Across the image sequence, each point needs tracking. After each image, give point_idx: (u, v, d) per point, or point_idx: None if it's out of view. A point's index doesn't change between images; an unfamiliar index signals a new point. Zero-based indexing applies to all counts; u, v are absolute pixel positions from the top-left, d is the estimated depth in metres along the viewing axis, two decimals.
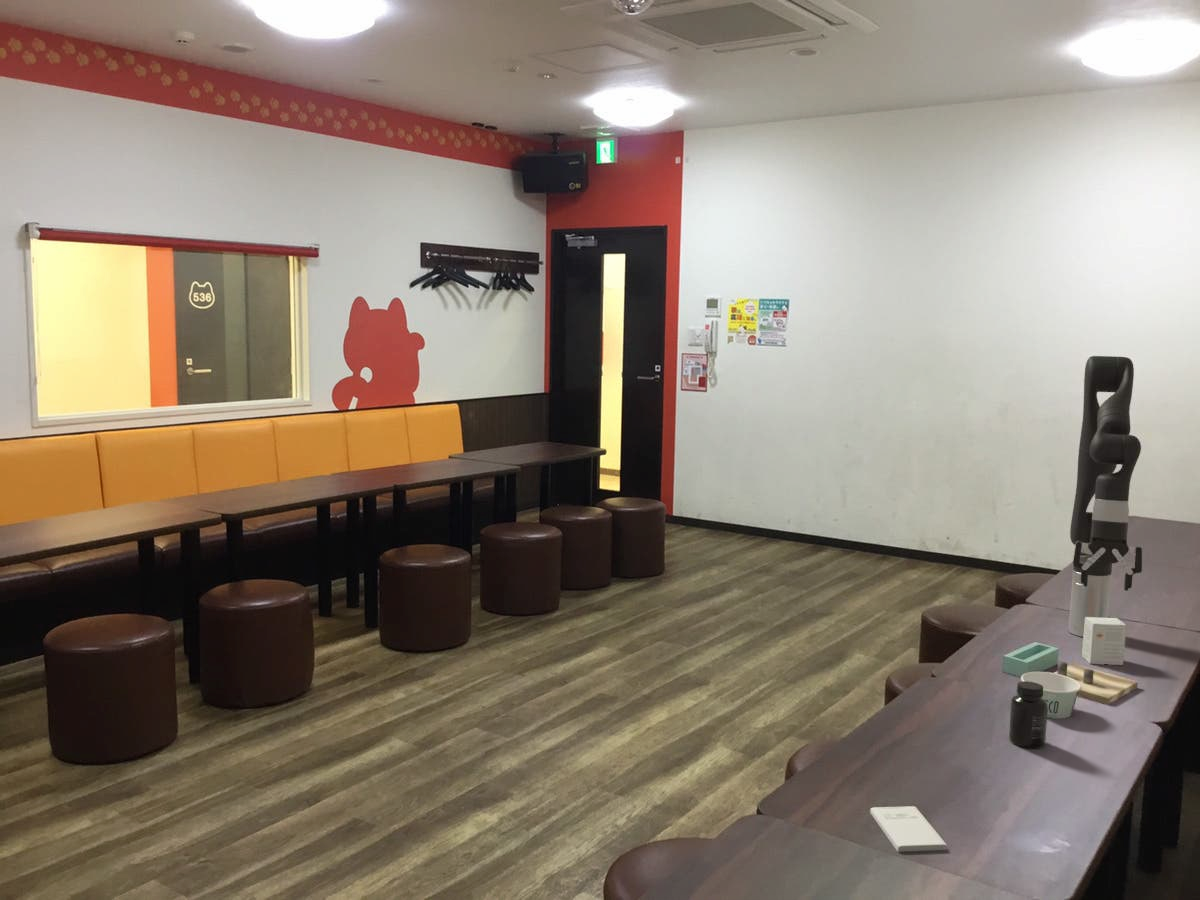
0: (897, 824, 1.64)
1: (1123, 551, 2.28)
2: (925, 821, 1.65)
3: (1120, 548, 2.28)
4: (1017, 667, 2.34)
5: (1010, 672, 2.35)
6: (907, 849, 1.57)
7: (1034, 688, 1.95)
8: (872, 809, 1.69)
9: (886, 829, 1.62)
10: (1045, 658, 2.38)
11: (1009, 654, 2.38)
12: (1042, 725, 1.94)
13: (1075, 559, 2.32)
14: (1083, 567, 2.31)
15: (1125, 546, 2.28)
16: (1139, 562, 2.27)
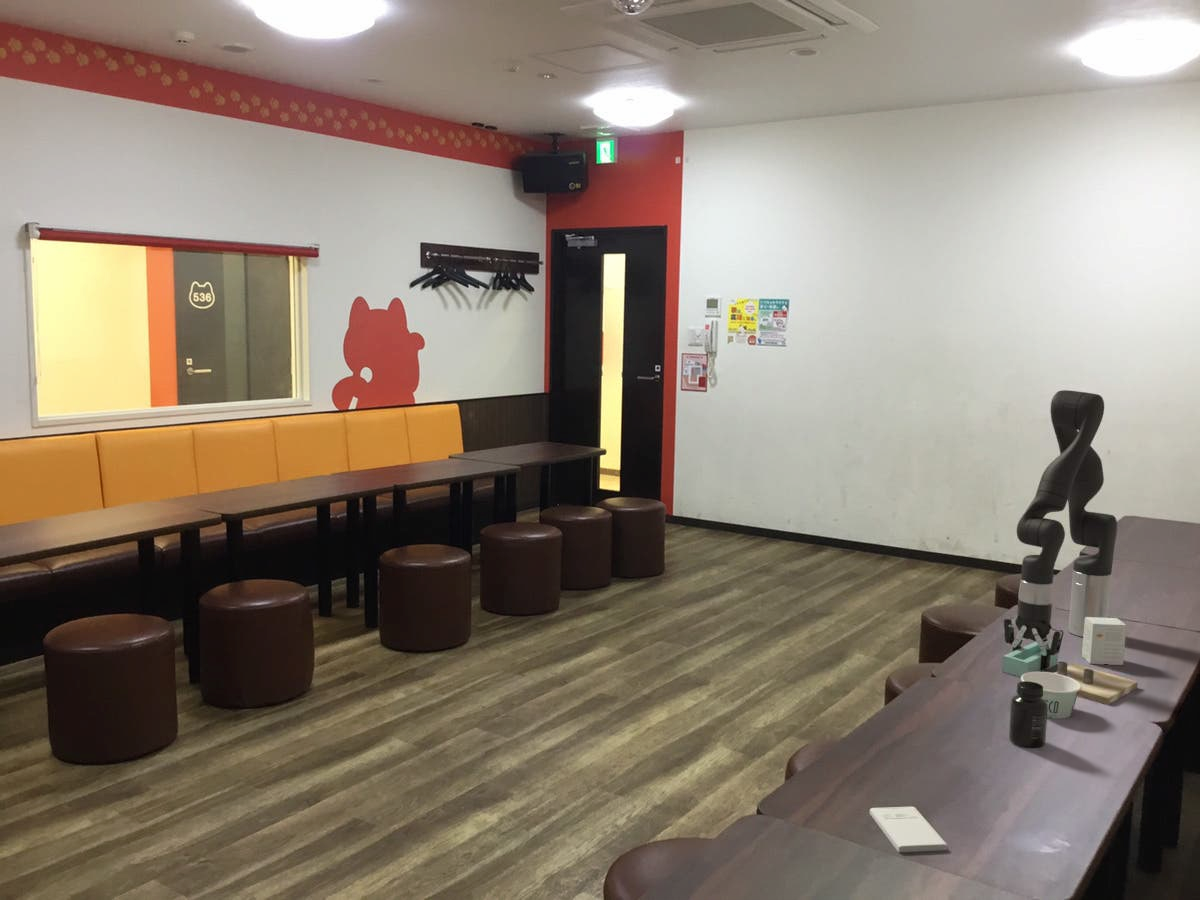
0: (897, 824, 1.63)
1: (1043, 631, 2.36)
2: (925, 821, 1.65)
3: (1041, 627, 2.36)
4: (1017, 667, 2.34)
5: (1010, 672, 2.35)
6: (908, 849, 1.57)
7: (1034, 688, 1.95)
8: (871, 810, 1.68)
9: (886, 829, 1.62)
10: None
11: (1009, 654, 2.37)
12: (1042, 725, 1.94)
13: (1006, 636, 2.43)
14: (1013, 644, 2.42)
15: (1046, 627, 2.35)
16: (1054, 646, 2.34)
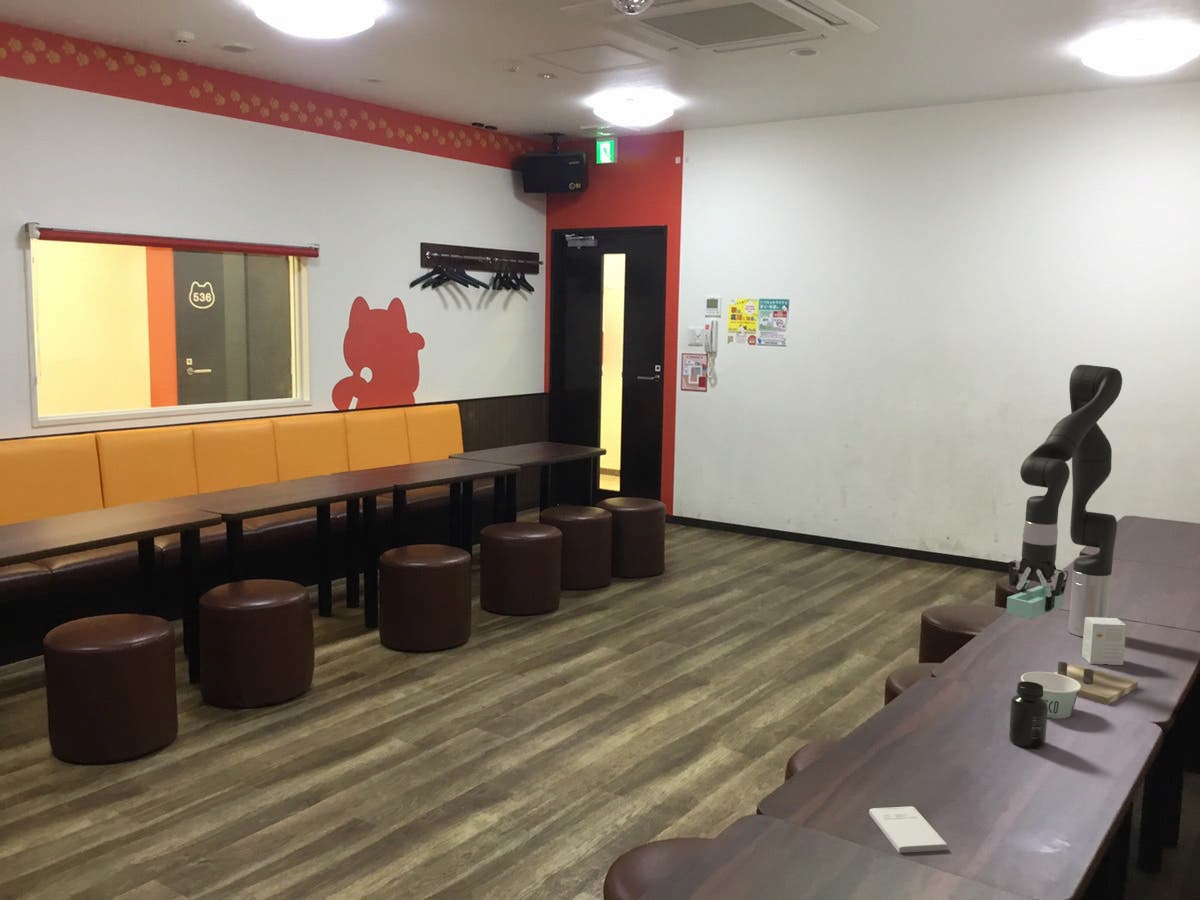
0: (896, 825, 1.63)
1: (1047, 572, 2.34)
2: (924, 821, 1.65)
3: (1045, 568, 2.34)
4: (1021, 608, 2.32)
5: (1014, 614, 2.34)
6: (908, 850, 1.57)
7: (1034, 688, 1.95)
8: (871, 810, 1.68)
9: (886, 830, 1.62)
10: None
11: (1013, 596, 2.36)
12: (1042, 725, 1.94)
13: (1010, 578, 2.41)
14: (1017, 587, 2.40)
15: (1050, 568, 2.33)
16: (1058, 586, 2.32)
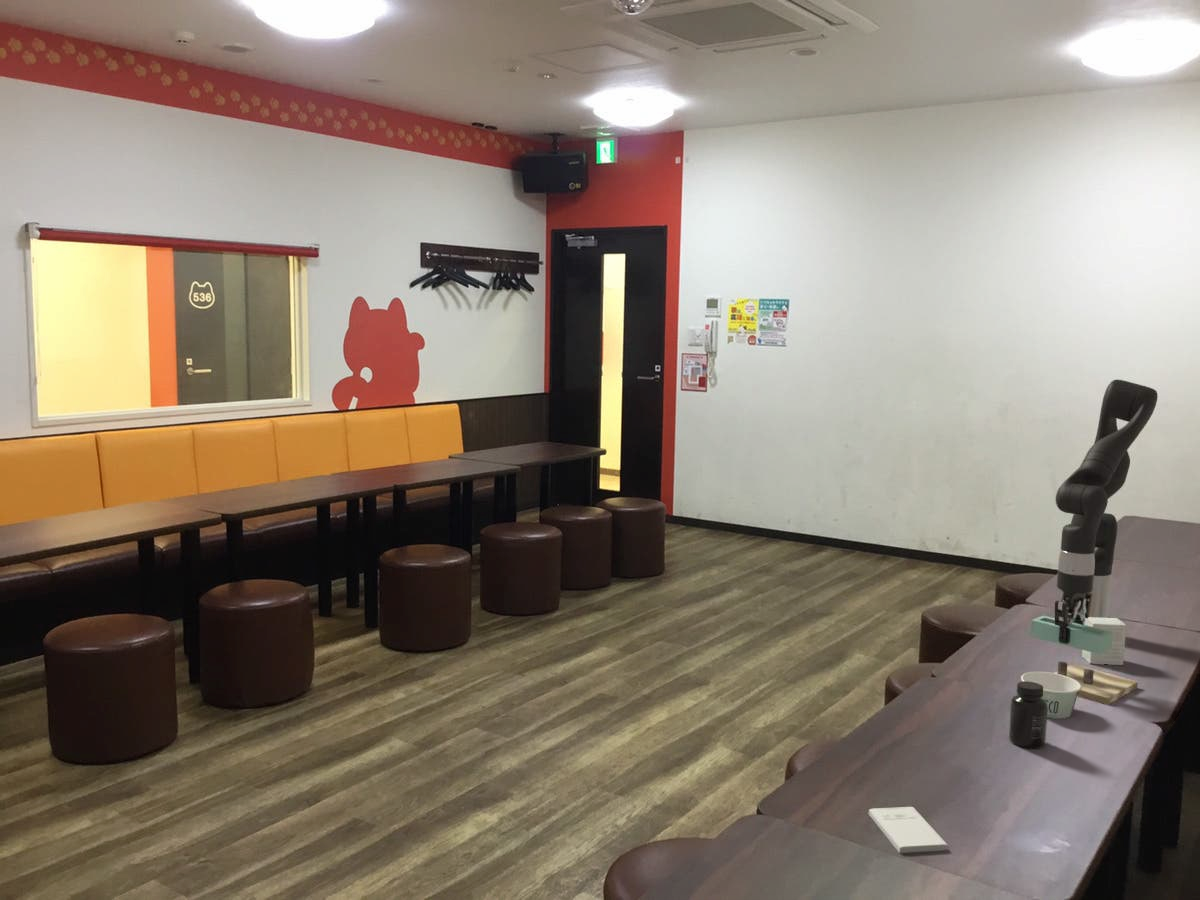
0: (896, 825, 1.63)
1: None
2: (924, 821, 1.65)
3: None
4: None
5: None
6: (908, 850, 1.57)
7: (1034, 688, 1.95)
8: (871, 810, 1.68)
9: (886, 830, 1.62)
10: None
11: (1050, 617, 2.35)
12: (1042, 725, 1.94)
13: None
14: None
15: (1062, 596, 2.26)
16: None
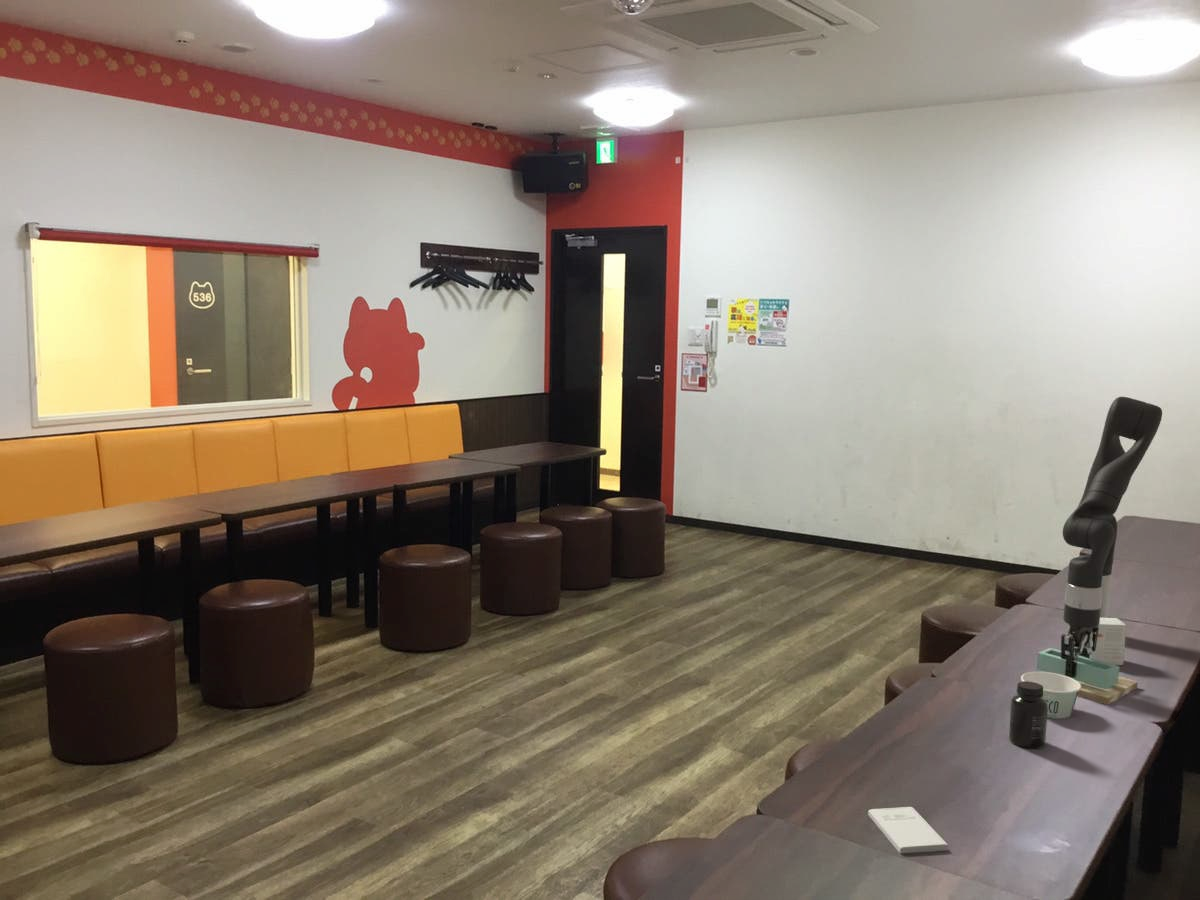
0: (896, 825, 1.63)
1: None
2: (924, 821, 1.65)
3: None
4: None
5: None
6: (909, 850, 1.57)
7: (1034, 688, 1.95)
8: (870, 811, 1.68)
9: (886, 831, 1.62)
10: None
11: (1057, 650, 2.34)
12: (1042, 725, 1.94)
13: None
14: None
15: (1068, 630, 2.25)
16: None
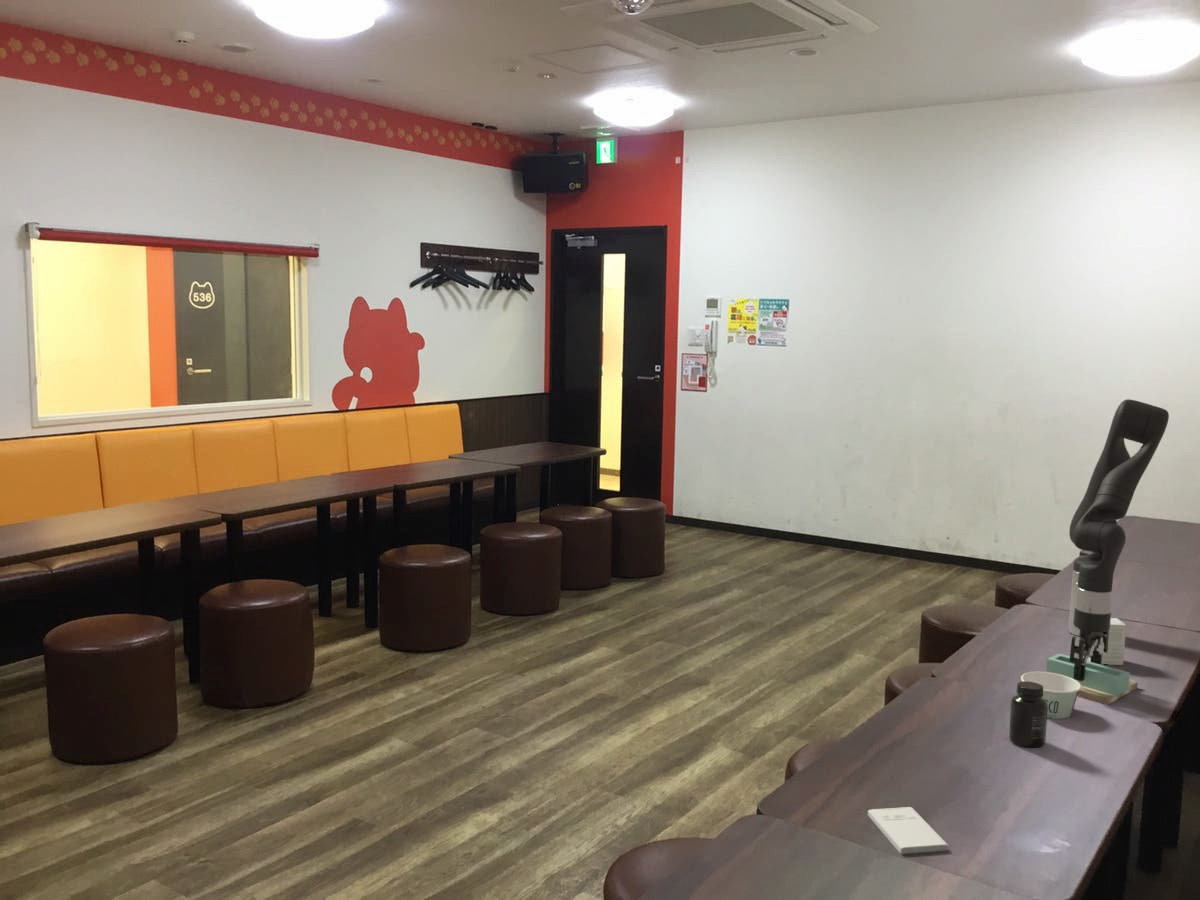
0: (896, 826, 1.63)
1: None
2: (923, 821, 1.65)
3: None
4: None
5: None
6: (909, 850, 1.57)
7: (1034, 688, 1.95)
8: (870, 811, 1.68)
9: (886, 831, 1.61)
10: (1086, 673, 2.24)
11: (1066, 656, 2.32)
12: (1042, 725, 1.94)
13: None
14: None
15: (1079, 634, 2.24)
16: None
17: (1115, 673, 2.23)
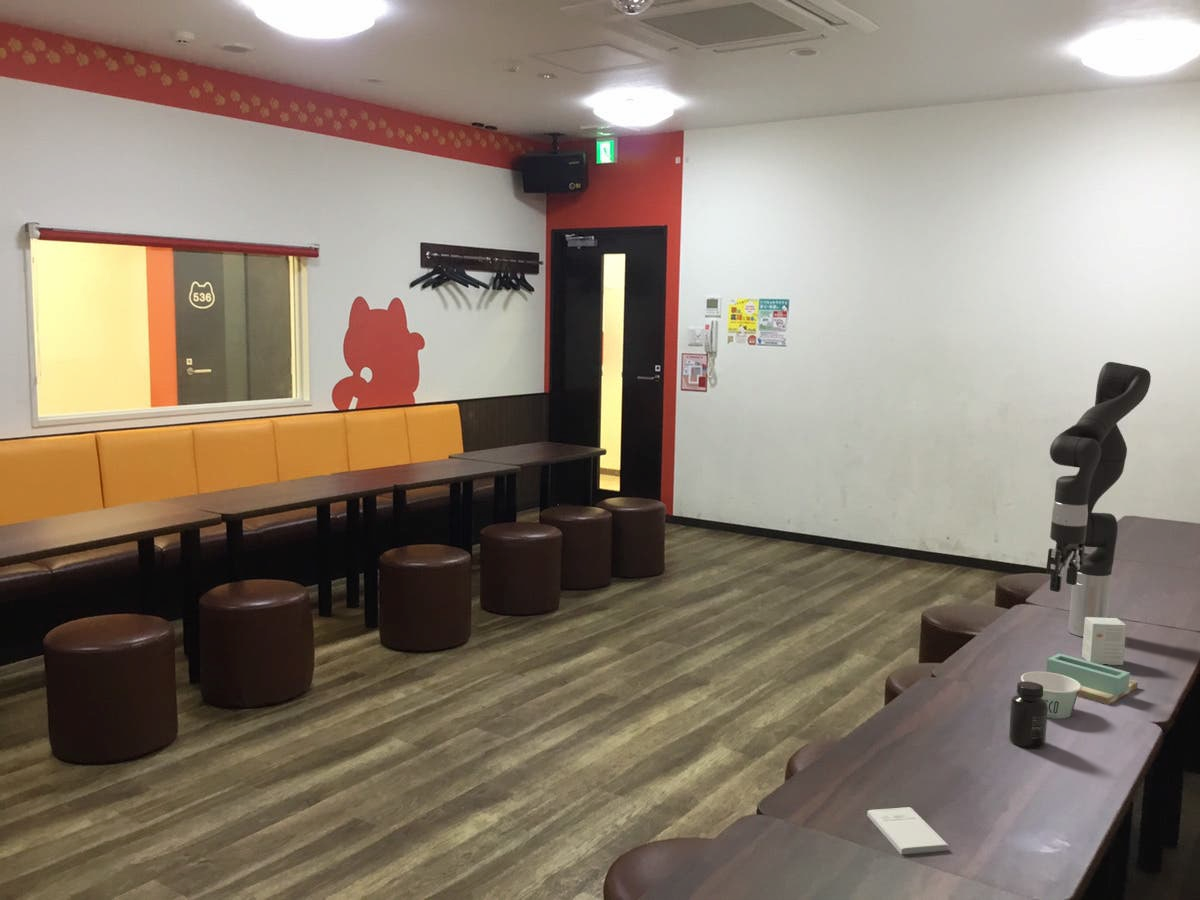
0: (896, 826, 1.63)
1: None
2: (923, 822, 1.65)
3: None
4: None
5: None
6: (910, 851, 1.56)
7: (1034, 688, 1.95)
8: (869, 812, 1.68)
9: (886, 831, 1.61)
10: (1086, 673, 2.24)
11: (1066, 656, 2.32)
12: (1042, 725, 1.94)
13: None
14: None
15: None
16: None
17: (1115, 673, 2.23)
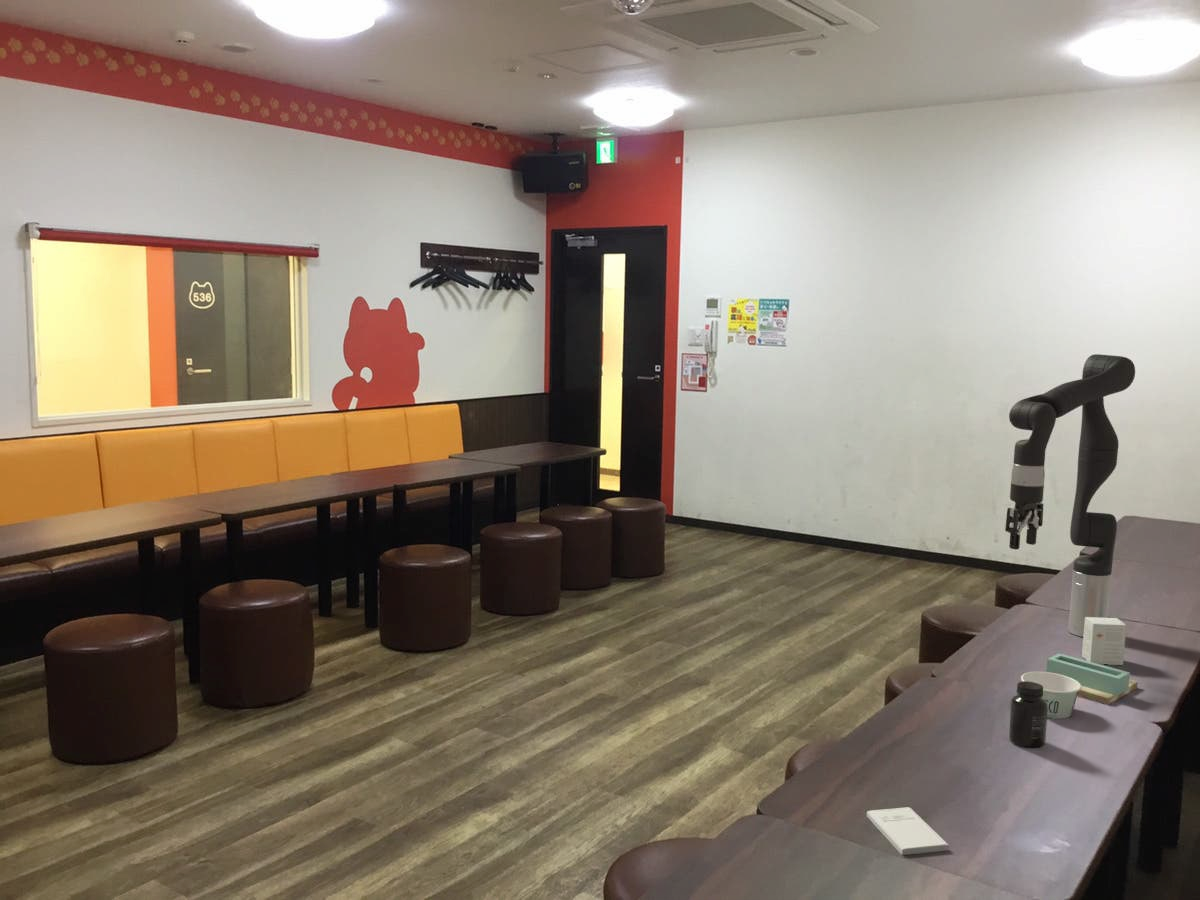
0: (896, 826, 1.63)
1: None
2: (923, 822, 1.64)
3: None
4: None
5: None
6: (911, 851, 1.56)
7: (1034, 688, 1.95)
8: (869, 812, 1.68)
9: (887, 832, 1.61)
10: (1086, 673, 2.24)
11: (1066, 656, 2.32)
12: (1042, 725, 1.94)
13: None
14: None
15: None
16: None
17: (1115, 673, 2.23)
